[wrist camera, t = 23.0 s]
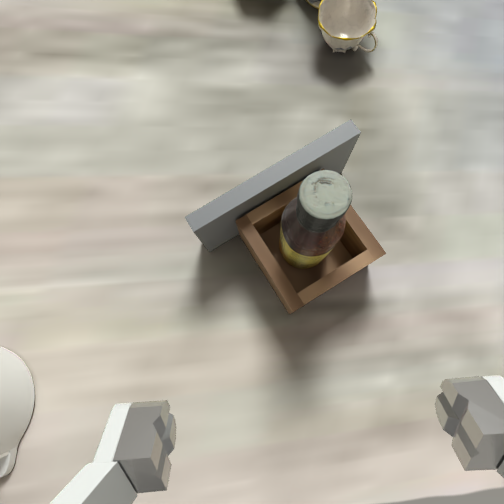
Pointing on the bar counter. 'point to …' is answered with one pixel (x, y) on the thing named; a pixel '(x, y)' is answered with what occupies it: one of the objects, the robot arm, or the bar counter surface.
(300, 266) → the sauce bottle
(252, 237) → the wooden box
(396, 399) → the bar counter surface
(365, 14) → the chinaware
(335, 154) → the backstop wall
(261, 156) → the bar counter surface
